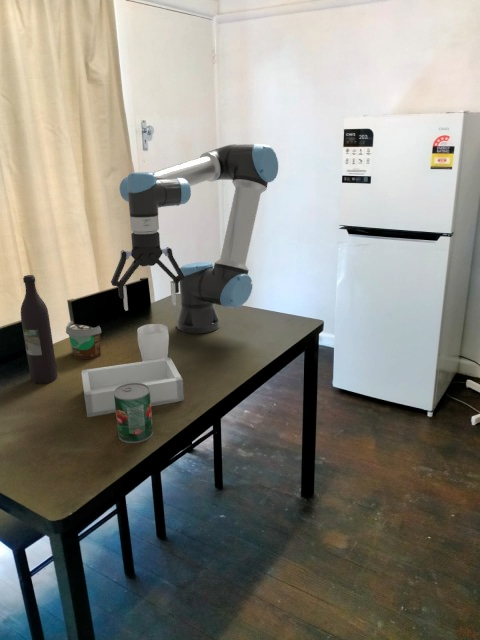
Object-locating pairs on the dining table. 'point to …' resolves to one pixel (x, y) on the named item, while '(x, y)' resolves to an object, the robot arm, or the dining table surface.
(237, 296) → the robot arm
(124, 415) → the canned tomato
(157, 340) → the cup
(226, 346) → the dining table surface
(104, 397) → the bin
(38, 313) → the wine bottle
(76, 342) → the food container
